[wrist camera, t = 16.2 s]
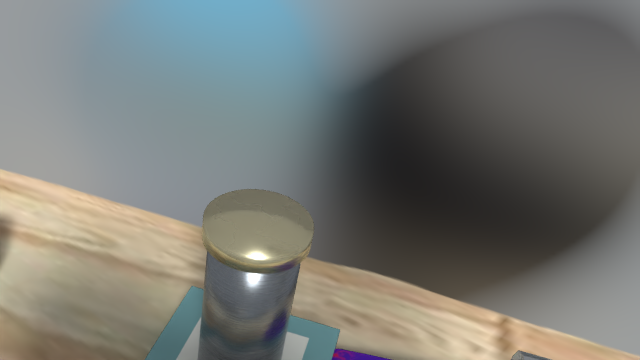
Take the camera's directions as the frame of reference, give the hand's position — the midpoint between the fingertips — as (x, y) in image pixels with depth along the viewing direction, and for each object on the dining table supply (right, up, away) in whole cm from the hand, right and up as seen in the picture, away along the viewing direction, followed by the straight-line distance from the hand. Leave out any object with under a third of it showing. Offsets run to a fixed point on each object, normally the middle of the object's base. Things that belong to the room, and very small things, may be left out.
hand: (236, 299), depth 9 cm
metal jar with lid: (-4, -11, +32) cm, 34 cm away
